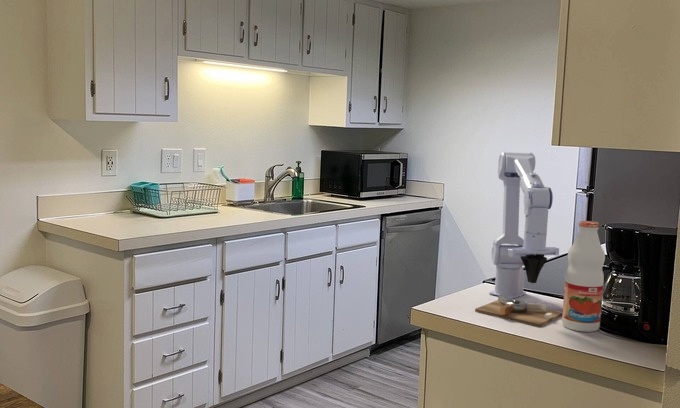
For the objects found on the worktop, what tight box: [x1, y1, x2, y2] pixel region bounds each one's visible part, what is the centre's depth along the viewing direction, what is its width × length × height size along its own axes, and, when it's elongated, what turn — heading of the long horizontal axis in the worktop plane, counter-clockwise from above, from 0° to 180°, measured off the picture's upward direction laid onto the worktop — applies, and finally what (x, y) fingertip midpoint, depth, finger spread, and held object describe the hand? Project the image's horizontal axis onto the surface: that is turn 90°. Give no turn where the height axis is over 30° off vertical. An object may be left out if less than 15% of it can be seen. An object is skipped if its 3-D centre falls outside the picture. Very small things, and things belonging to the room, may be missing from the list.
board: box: [474, 299, 563, 328], centre depth 183 cm, size 15×19×1 cm
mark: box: [545, 313, 553, 319], centre depth 177 cm, size 2×1×1 cm, turn 139°
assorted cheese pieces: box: [497, 295, 547, 315], centre depth 182 cm, size 13×15×3 cm
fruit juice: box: [561, 220, 606, 333], centre depth 171 cm, size 9×9×28 cm
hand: (531, 282), depth 176 cm, fingers closed
